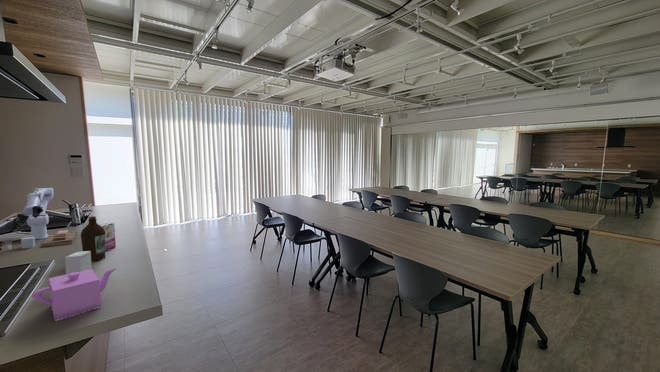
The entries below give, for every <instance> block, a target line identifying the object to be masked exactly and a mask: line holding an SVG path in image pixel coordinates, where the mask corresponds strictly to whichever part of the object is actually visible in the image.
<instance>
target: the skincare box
mask: <svg viewBox="0 0 660 372" xmlns="http://www.w3.org/2000/svg"><path fill="white" fill-rule="evenodd" d="M64 263H65V273H66V274H65V275H67V274H70V273H73V272H81V271H85V270H90V269H92V270H93V267H92V262H91V251H83V250H81V251H76V252H74V253H71V254H69V255H67V256H65V257H64Z"/></svg>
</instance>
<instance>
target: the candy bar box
mask: <svg viewBox="0 0 660 372" xmlns="http://www.w3.org/2000/svg"><path fill="white" fill-rule="evenodd" d="M99 225H100V226H102V227H103V228H104V230H105V248H106V250H107V251H110V250H112V249H115V248H116V246H117V245H116V244H117V243H116V229H115V223H114V222H106V223H102V224H99ZM114 247H115V248H114ZM109 249H110V250H109Z"/></svg>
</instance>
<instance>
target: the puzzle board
mask: <svg viewBox="0 0 660 372" xmlns="http://www.w3.org/2000/svg"><path fill="white" fill-rule="evenodd" d="M48 235H49V236H48V237H47V238H45V240H44V241H43V242H42V245H41V247H43V248H47V247H56V246H64V245H70V244H71V245H72V244H73V243H74V242H75V240H76V238H77V236H78V232H77V231H73V232H69V230H68V229H65V230H58V231H57V233H51V234H48Z"/></svg>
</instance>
